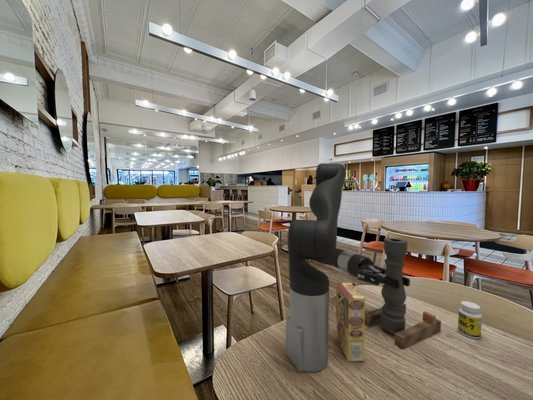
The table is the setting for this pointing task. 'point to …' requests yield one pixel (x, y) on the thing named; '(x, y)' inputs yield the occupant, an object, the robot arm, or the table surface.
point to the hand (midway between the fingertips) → (404, 284)
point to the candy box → (350, 321)
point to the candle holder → (394, 298)
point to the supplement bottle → (470, 320)
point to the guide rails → (411, 333)
